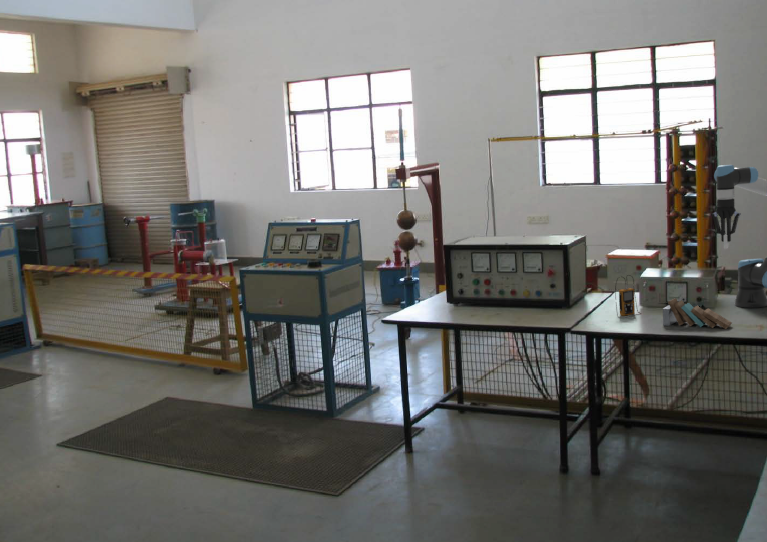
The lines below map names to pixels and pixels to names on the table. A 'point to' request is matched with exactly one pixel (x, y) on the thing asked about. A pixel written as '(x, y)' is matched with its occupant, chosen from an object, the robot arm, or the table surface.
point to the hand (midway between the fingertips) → (726, 248)
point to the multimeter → (626, 301)
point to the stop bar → (668, 316)
